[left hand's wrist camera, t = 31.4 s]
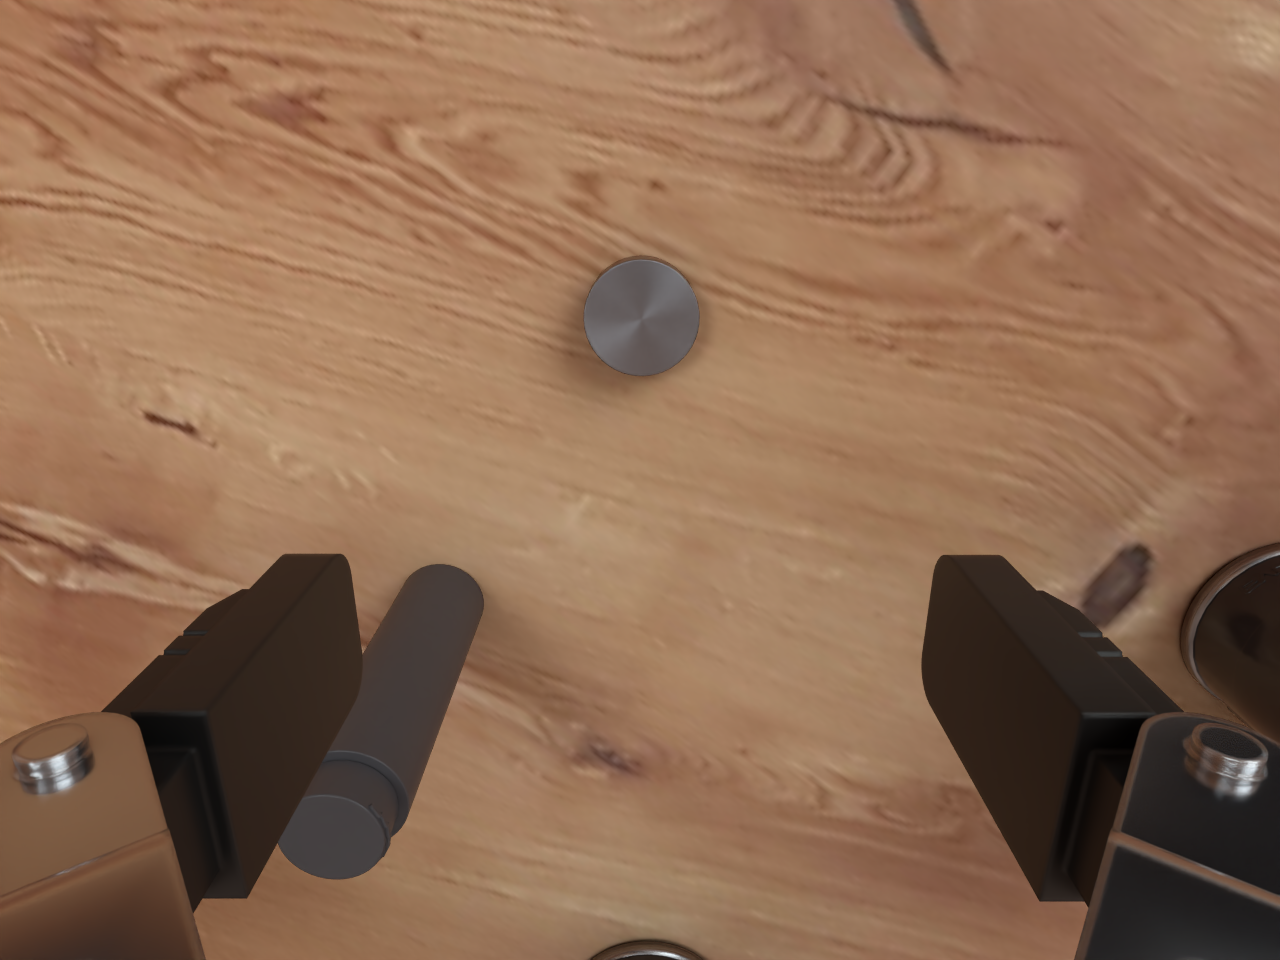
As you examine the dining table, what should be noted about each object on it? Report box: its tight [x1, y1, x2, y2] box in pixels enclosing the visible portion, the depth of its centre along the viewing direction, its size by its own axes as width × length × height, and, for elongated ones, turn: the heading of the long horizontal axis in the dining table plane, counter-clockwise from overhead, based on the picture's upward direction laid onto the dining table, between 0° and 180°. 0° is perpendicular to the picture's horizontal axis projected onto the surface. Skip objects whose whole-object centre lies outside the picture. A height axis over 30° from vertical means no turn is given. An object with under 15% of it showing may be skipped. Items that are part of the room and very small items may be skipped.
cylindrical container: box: [278, 564, 484, 879], centre depth 34 cm, size 4×4×16 cm
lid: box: [584, 256, 699, 376], centre depth 36 cm, size 5×5×2 cm
